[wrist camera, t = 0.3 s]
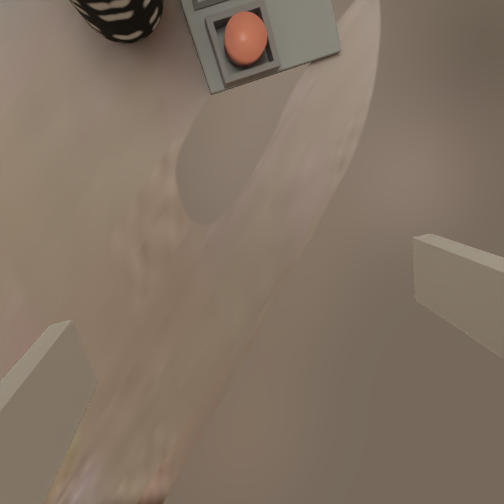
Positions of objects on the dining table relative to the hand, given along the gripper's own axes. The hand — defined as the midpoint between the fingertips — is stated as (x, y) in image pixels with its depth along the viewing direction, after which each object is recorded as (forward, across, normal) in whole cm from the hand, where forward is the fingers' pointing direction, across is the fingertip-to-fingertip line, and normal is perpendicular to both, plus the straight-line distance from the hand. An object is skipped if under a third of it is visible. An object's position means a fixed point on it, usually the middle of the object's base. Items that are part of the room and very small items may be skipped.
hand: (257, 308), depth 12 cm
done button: (+26, +6, +16) cm, 31 cm away
